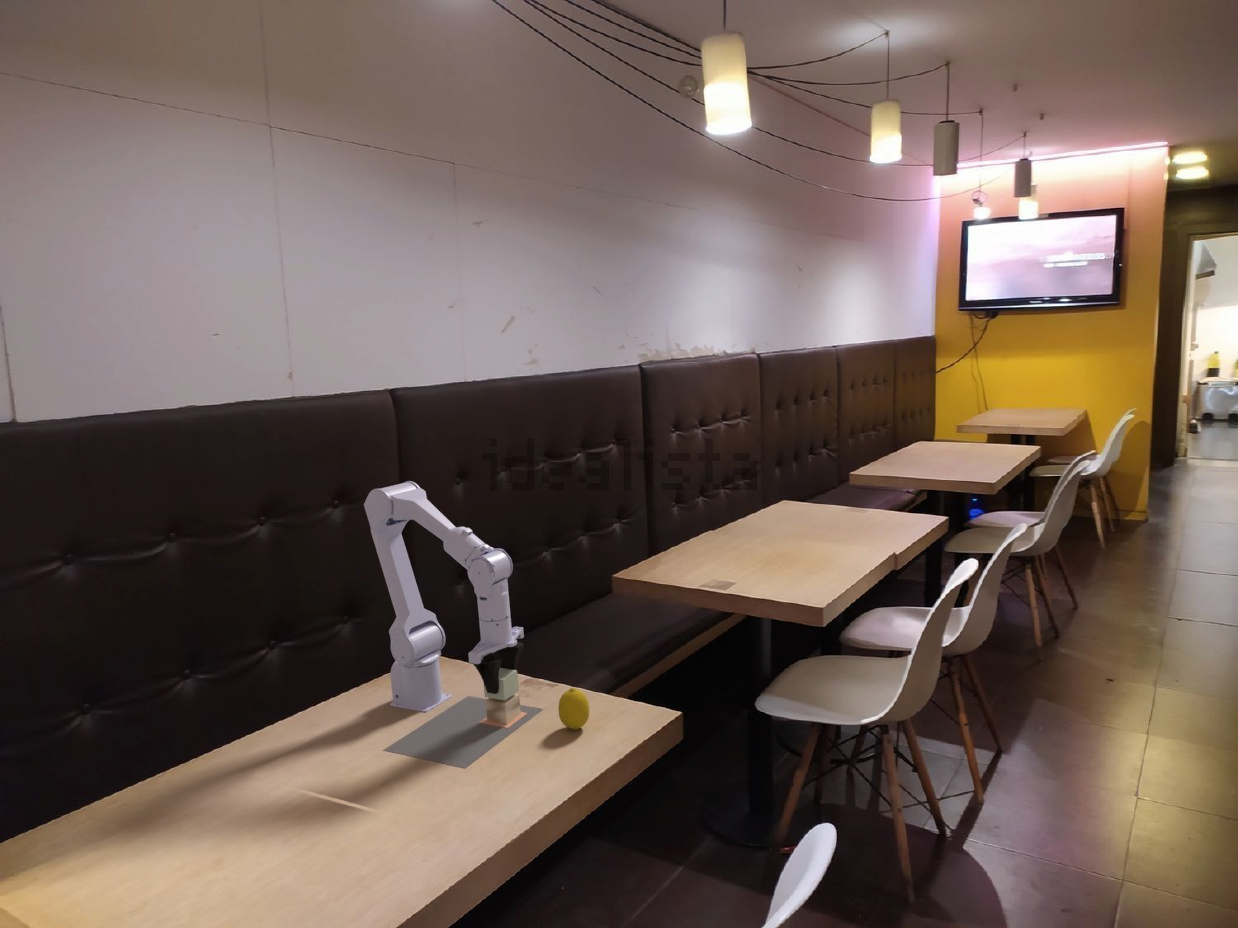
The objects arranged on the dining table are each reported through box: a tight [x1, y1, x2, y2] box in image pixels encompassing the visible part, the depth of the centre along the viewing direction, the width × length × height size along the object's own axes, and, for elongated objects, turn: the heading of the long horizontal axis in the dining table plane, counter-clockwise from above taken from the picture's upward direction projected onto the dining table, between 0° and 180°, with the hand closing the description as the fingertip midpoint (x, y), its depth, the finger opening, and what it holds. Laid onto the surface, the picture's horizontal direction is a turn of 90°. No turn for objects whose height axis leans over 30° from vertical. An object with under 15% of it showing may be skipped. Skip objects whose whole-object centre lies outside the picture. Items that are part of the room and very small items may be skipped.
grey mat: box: [383, 695, 544, 769], centre depth 153 cm, size 18×24×1 cm
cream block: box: [485, 693, 521, 725], centre depth 156 cm, size 4×4×4 cm
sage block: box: [483, 667, 520, 700], centre depth 155 cm, size 4×4×4 cm
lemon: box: [558, 687, 590, 731], centre depth 149 cm, size 6×6×8 cm
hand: (500, 686), depth 155 cm, fingers open, 5 cm apart
